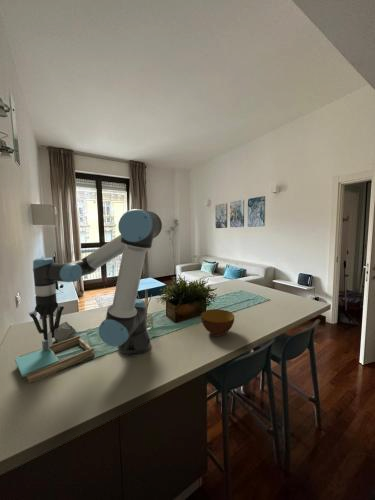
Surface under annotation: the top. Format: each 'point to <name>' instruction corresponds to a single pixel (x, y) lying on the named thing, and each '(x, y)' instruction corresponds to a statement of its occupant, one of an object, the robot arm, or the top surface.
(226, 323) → the bowl
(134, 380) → the top surface
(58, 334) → the stone
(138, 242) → the robot arm
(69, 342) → the wooden box
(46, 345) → the lid
